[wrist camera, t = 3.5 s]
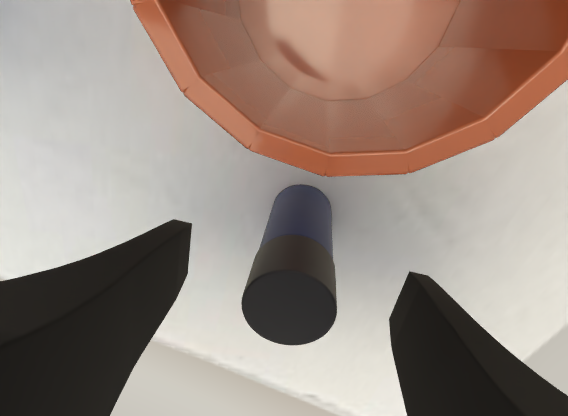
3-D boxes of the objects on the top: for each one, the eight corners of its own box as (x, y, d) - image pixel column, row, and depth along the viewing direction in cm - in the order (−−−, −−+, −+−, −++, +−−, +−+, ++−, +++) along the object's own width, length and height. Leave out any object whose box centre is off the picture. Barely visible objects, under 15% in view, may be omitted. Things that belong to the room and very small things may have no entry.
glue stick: (288, 245, 17) (268, 355, 11) (261, 196, 16) (223, 289, 10) (341, 224, 16) (352, 331, 10) (316, 173, 15) (311, 256, 9)
